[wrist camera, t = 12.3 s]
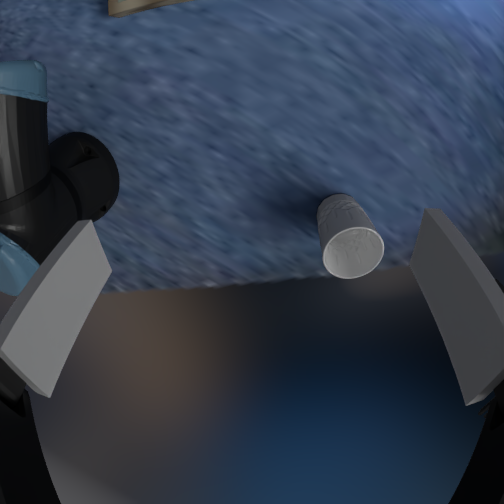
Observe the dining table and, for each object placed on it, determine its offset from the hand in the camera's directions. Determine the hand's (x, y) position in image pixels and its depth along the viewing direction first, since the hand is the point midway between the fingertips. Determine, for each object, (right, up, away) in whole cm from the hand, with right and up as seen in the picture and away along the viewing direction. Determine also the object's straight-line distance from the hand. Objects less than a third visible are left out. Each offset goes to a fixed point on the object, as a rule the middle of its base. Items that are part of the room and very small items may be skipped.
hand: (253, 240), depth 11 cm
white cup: (+13, +5, +31) cm, 34 cm away
